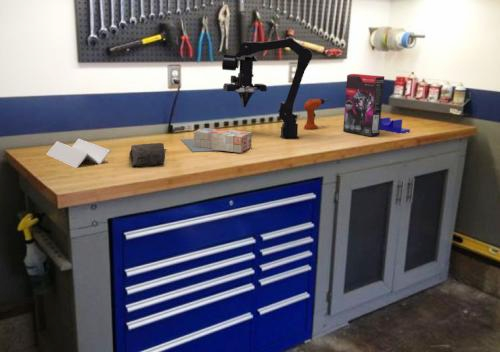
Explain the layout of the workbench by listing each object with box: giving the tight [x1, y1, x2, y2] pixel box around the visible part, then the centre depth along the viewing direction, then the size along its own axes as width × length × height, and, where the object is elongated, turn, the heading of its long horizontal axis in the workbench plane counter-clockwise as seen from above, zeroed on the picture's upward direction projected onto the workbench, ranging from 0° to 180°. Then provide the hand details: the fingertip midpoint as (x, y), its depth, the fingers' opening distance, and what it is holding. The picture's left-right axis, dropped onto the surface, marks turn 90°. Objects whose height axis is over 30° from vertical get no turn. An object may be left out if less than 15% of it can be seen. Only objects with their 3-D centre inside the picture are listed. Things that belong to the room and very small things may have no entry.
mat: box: [180, 138, 223, 153], centre depth 210 cm, size 14×24×1 cm, turn 18°
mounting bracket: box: [380, 116, 411, 134], centre depth 254 cm, size 18×7×6 cm, turn 39°
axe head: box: [129, 142, 168, 167], centre depth 185 cm, size 26×8×15 cm
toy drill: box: [303, 98, 330, 131], centre depth 254 cm, size 5×19×15 cm, turn 135°
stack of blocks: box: [193, 127, 253, 154], centre depth 204 cm, size 21×6×12 cm
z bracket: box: [45, 138, 111, 169], centre depth 183 cm, size 12×25×6 cm
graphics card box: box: [342, 73, 385, 137], centre depth 239 cm, size 17×7×27 cm, turn 41°
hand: (244, 107), depth 229 cm, fingers closed
